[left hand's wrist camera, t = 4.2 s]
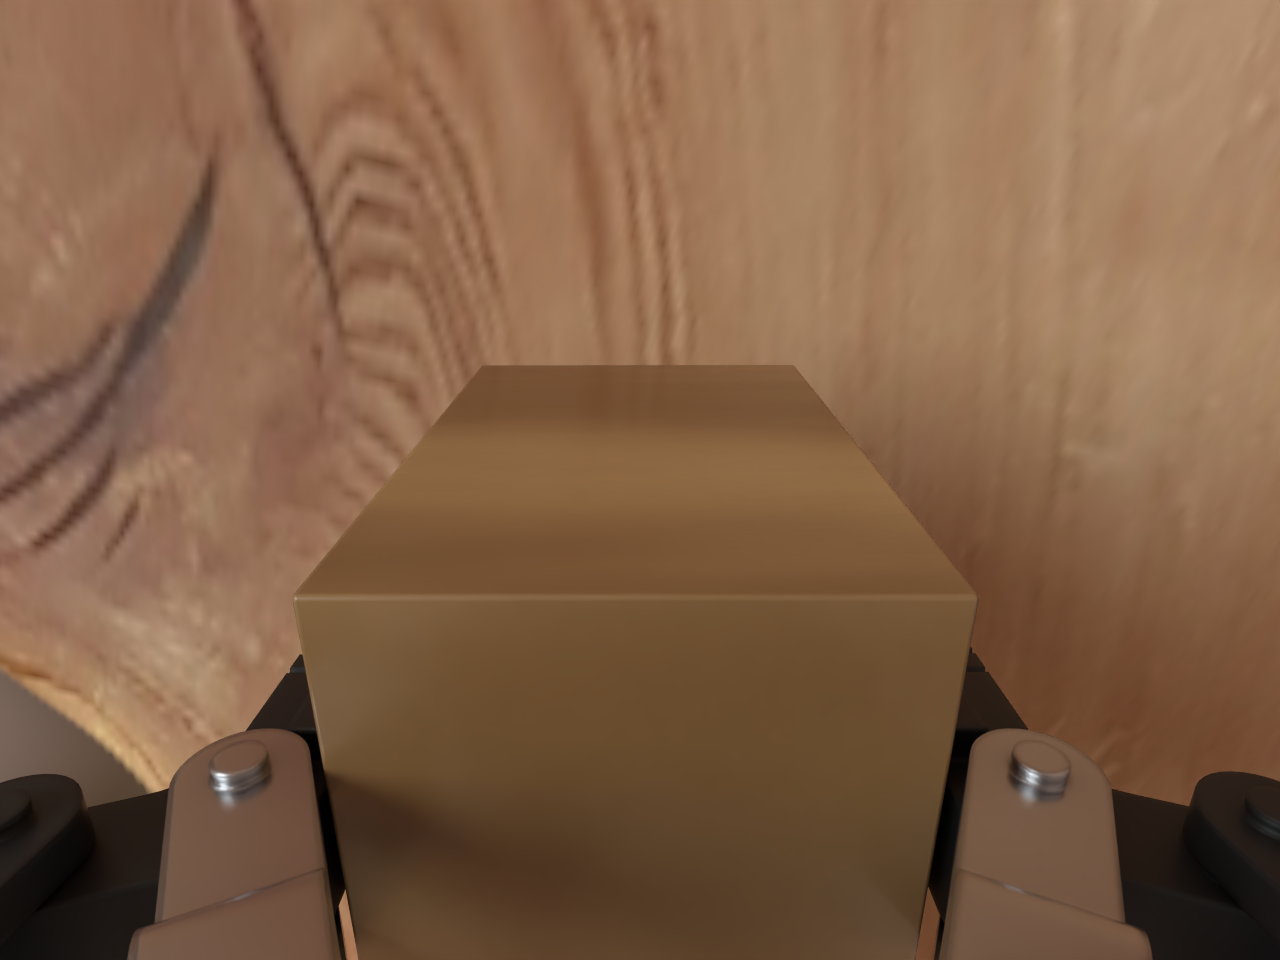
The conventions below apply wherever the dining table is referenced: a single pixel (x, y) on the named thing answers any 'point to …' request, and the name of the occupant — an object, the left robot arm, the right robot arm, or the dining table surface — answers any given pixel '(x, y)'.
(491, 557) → the bar
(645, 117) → the dining table surface
